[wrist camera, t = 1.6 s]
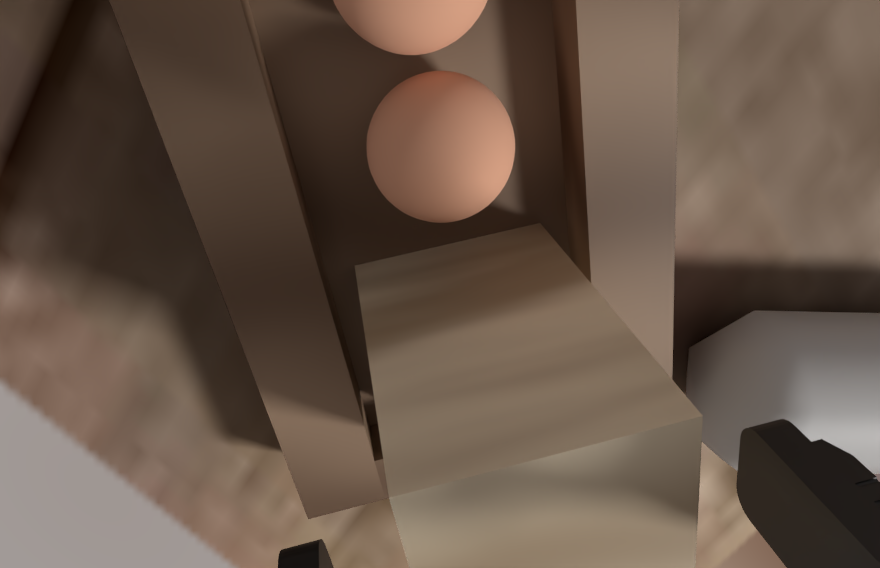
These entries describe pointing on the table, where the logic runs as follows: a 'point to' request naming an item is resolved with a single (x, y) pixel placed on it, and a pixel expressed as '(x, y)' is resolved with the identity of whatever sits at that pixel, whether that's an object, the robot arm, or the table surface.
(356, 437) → the slot board
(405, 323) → the block
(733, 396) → the tube
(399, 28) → the ball
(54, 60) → the table surface
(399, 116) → the ball
